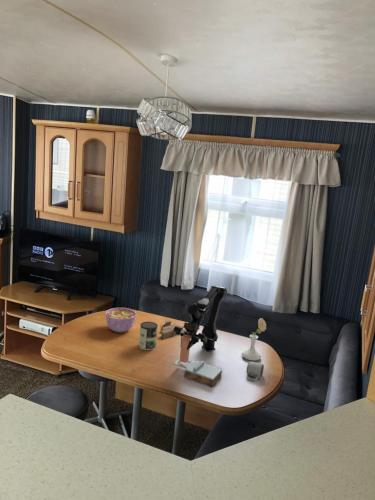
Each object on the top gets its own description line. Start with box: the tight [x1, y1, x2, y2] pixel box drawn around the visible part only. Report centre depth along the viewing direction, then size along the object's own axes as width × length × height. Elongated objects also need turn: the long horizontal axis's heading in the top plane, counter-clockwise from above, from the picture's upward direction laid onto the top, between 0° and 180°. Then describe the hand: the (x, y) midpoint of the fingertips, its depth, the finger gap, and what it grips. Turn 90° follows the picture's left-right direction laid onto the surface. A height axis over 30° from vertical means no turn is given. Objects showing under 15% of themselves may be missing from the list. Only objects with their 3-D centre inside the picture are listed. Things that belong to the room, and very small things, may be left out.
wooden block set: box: [160, 318, 184, 340], centre depth 263 cm, size 17×6×18 cm
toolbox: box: [183, 370, 223, 388], centre depth 210 cm, size 16×12×4 cm
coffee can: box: [138, 321, 158, 351], centre depth 237 cm, size 10×10×14 cm
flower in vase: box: [241, 317, 267, 361], centre depth 235 cm, size 13×11×25 cm
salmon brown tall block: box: [179, 334, 192, 364], centre depth 213 cm, size 4×4×14 cm
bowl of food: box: [104, 307, 137, 333], centre depth 257 cm, size 20×20×12 cm
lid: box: [173, 358, 223, 380], centre depth 211 cm, size 24×12×2 cm, turn 62°
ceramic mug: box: [246, 361, 265, 382], centre depth 214 cm, size 11×8×8 cm
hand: (184, 348), depth 211 cm, fingers closed on salmon brown tall block, 3 cm apart
